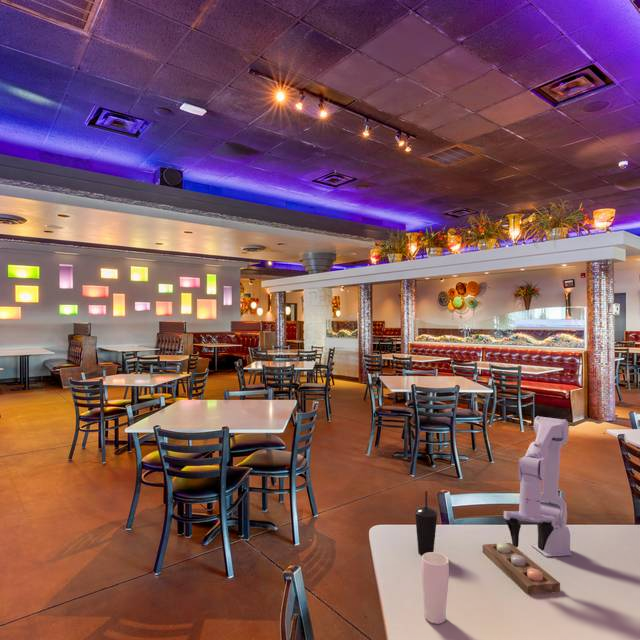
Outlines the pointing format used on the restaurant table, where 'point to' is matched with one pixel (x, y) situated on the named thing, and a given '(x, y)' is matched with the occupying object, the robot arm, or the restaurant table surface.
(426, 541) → the drinking cup
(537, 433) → the robot arm
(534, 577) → the terracotta button
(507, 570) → the panel
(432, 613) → the drinking glass
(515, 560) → the grey button
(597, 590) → the restaurant table surface
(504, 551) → the sage button
